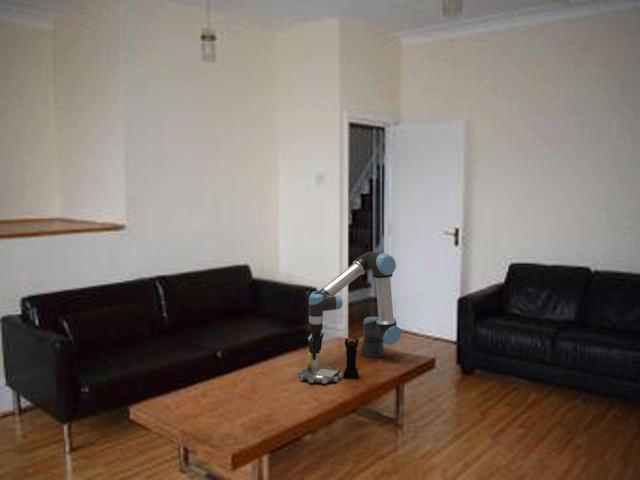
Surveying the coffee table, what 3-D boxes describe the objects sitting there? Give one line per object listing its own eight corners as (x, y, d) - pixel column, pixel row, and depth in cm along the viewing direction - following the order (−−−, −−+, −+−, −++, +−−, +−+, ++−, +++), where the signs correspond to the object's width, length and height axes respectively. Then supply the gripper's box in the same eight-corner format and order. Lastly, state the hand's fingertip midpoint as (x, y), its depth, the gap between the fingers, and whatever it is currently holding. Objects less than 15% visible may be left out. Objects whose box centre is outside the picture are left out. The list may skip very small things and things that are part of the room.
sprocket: (310, 366, 325) (310, 345, 323) (347, 372, 315) (348, 351, 314) (291, 379, 304) (291, 357, 303) (330, 386, 294) (331, 363, 293)
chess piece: (358, 374, 316) (359, 338, 314) (358, 379, 308) (358, 343, 306) (343, 373, 317) (344, 338, 315) (343, 378, 309) (343, 342, 307)
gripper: (316, 319, 320) (316, 360, 323) (303, 324, 310) (302, 366, 313) (328, 321, 316) (327, 363, 319) (314, 326, 306) (314, 369, 308)
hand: (315, 364), depth 316 cm, fingers closed
